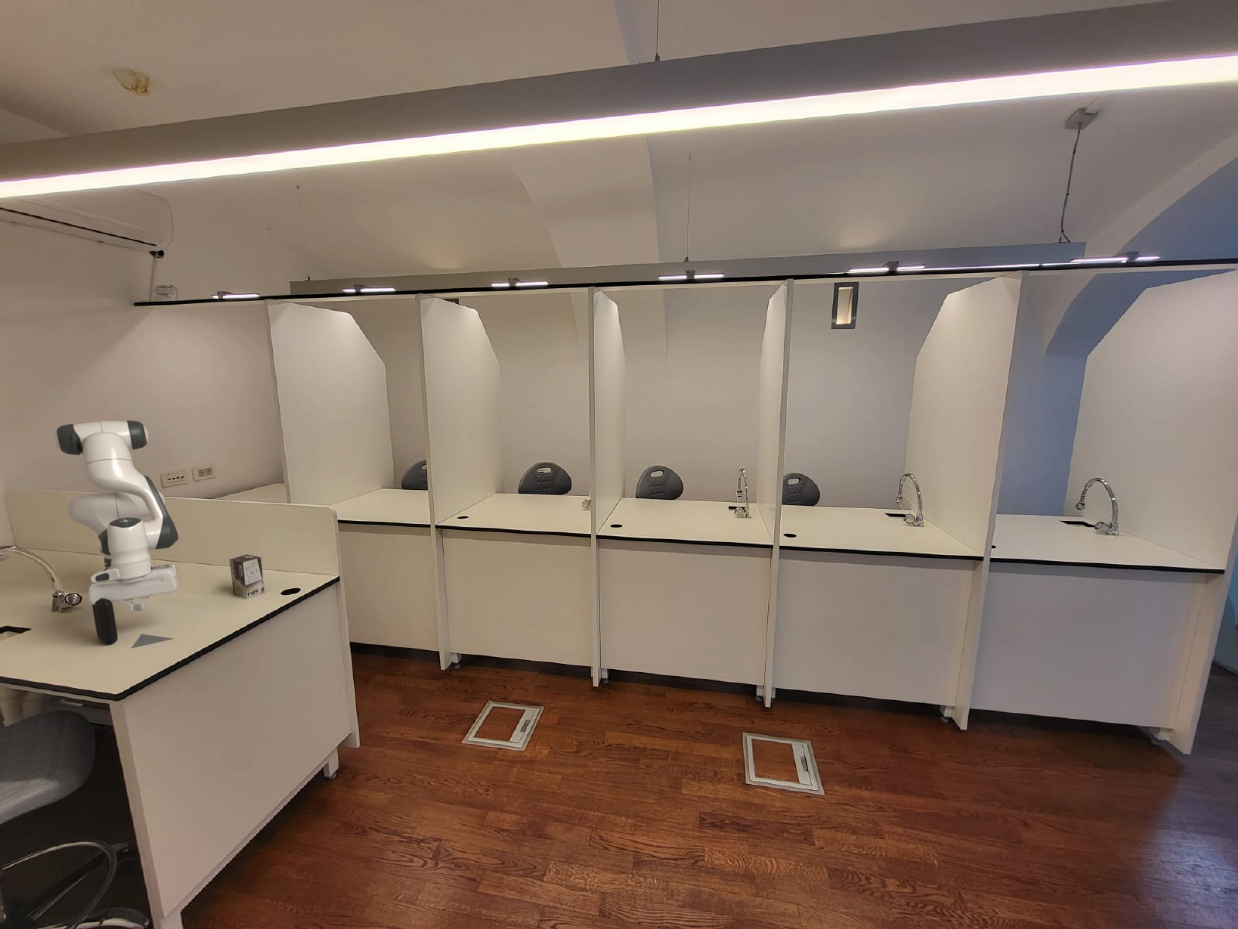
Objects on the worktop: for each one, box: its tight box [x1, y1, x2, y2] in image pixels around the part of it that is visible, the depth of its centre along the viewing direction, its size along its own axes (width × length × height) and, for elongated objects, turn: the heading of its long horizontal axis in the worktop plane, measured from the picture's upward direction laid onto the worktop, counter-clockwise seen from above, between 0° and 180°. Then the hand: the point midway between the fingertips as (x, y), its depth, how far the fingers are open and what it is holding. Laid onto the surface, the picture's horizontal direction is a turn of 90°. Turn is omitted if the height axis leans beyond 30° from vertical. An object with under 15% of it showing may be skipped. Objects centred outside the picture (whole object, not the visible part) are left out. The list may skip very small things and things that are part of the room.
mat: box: [131, 633, 175, 649], centre depth 159 cm, size 22×22×1 cm
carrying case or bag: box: [91, 598, 119, 646], centre depth 147 cm, size 11×3×15 cm, turn 60°
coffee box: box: [229, 553, 265, 600], centre depth 179 cm, size 9×6×16 cm
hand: (138, 610), depth 152 cm, fingers closed
